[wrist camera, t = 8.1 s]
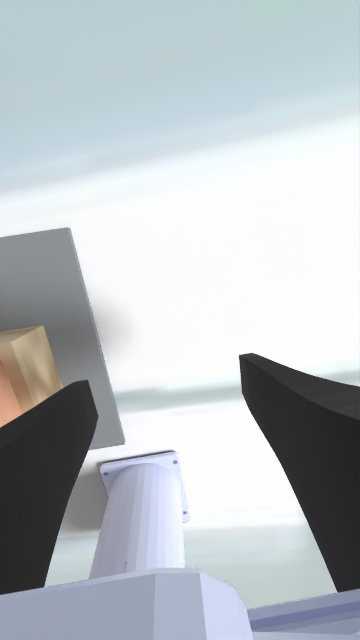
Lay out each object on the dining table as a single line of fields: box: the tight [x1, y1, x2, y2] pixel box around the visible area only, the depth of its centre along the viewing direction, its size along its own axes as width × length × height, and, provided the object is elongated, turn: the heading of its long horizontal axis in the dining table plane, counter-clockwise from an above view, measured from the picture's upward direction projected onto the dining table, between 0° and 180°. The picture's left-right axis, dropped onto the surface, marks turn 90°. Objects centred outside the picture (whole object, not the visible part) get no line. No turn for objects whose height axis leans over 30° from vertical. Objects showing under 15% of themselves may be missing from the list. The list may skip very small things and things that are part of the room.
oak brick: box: [0, 325, 63, 413], centre depth 18 cm, size 8×6×4 cm
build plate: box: [0, 228, 125, 450], centre depth 20 cm, size 20×16×1 cm
